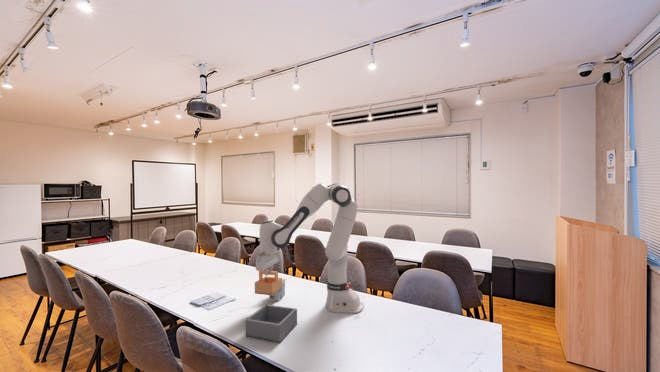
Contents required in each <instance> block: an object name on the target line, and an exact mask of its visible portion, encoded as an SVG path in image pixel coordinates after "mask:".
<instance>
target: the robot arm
mask: <svg viewBox="0 0 660 372" xmlns="http://www.w3.org/2000/svg"><path fill="white" fill-rule="evenodd" d="M304 195H305V196H304V197H303V198H302V199H301V201H300V202H299V205H298V207H297V209H296V210H295V213H293V215H292V216H291V217H290V219H288V220H287V222H286V223H285V224H284V225H281V224H279V223H277V222H275V221H274V220H267V221H263V222H262V223H261V224H260V225H259V241H260V242H259V253H258V254H257V256H256V259H255V270H256V271H257V272H259V271H262V270H264V272H265V274H264V277H265V276H266V277H268V276H270V275H269V272H268V271H273V269H274V265H275V264H279V262H280V257H281V256H280V255H281V253H280V251H281V249H283V248H286V247H287V246H288V245H289V243H290V241H291V239H292V237H293V234H294V233H295V232H296V230H298V229H299V227H300V226H301V225H302V223H304V221H306V220H307V219H309V218H310V217H311V216H313V215H314V214H315V213H317V212H318V210H320V209H321V207H322V206H323V205H324V204H325V203H326V202H328V201H331V202H333V203H335V204H336V205H338V209H337V213H336V216H335V220H334V224H333V227H332V230H331V233H330V234H329V235H330V236H329V238H328V240H327V243H326V247H325V250H324V251H325V256H326V258H327V259H328V265H327V281H326V290H327V293H326V294H327V296H326V301H325V308H327V309H328V310H329V311H330V312H331V313H345V314H347V313H349V314H350V313H351V314H359V313H361V312H362V311H363V309H364V307H365V303H364V301H361V300H360V295H359V294H358V293H357V292H356V291H355V290H354V289H352V288H351V282H350V281H347V268H348V267H347V265H348V264H347V263H348V250H349V249H348V244H349V241H350V237H351V236H352V235H351V234H352V231H353V227H354V224H355V222H356V218H357V213H358V202H357V201H355V200H354V199H352V196H351V192H350V189H349V188H348V187H347V186H345V185H344V184H340V183H333V184H329V185H326V184H324V183H317V184H316V185H315V186H313V187H312V188H311V189H310V190H309V191H308V192H307V193H306V194H304Z"/></svg>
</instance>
